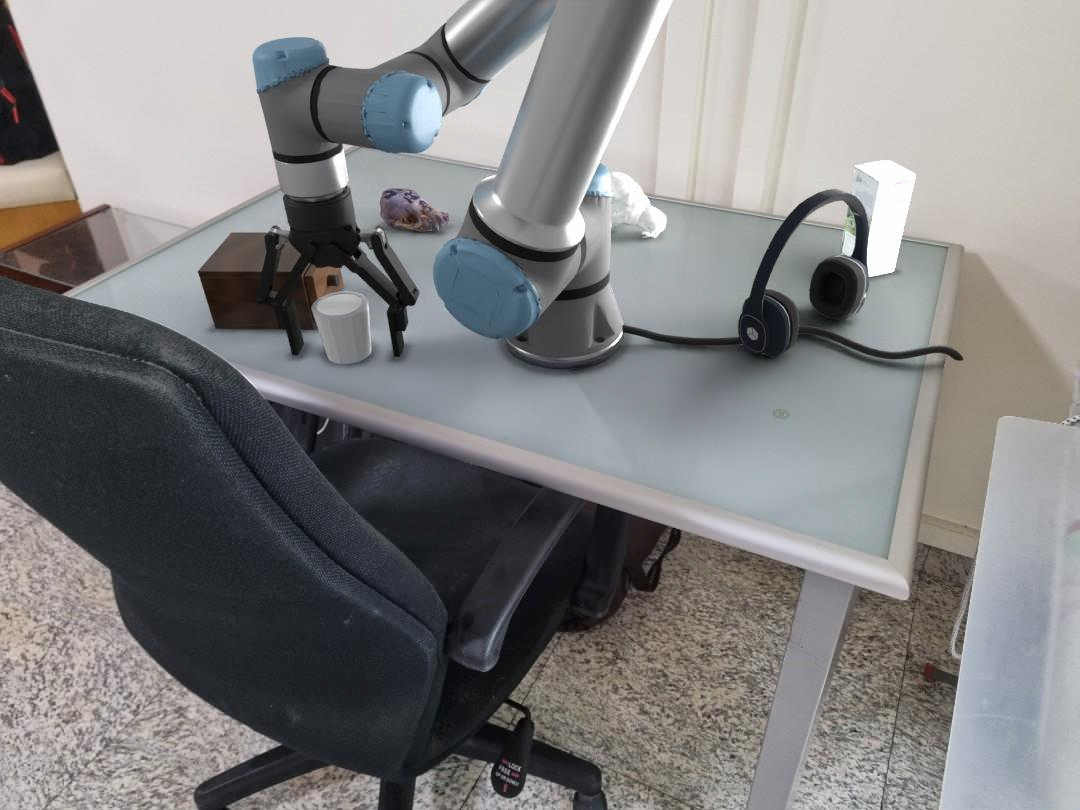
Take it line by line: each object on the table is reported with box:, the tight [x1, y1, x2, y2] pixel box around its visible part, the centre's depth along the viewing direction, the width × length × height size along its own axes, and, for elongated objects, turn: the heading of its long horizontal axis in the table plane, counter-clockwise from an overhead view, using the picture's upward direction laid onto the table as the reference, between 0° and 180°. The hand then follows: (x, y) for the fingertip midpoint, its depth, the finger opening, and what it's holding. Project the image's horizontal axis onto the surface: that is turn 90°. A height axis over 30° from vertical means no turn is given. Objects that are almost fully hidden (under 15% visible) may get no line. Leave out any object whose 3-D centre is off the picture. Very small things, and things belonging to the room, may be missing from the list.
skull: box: [379, 187, 450, 233], centre depth 135 cm, size 12×8×6 cm, turn 54°
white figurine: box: [609, 171, 667, 239], centre depth 130 cm, size 6×8×12 cm
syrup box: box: [838, 159, 916, 278], centre depth 116 cm, size 6×6×14 cm
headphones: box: [737, 188, 870, 358], centre depth 101 cm, size 20×7×18 cm, turn 127°
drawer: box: [304, 264, 344, 322], centre depth 114 cm, size 14×10×7 cm
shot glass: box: [311, 290, 373, 365], centre depth 104 cm, size 7×7×7 cm
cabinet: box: [197, 231, 317, 331], centre depth 114 cm, size 14×12×9 cm
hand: (348, 350), depth 106 cm, fingers open, 12 cm apart
